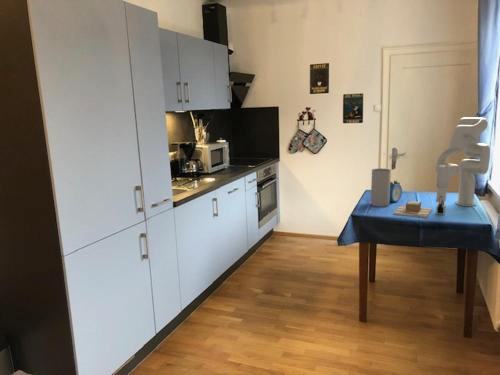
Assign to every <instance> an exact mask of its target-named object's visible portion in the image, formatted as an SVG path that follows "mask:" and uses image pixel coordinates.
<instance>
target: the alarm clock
mask: <svg viewBox="0 0 500 375" xmlns="http://www.w3.org/2000/svg"><path fill="white" fill-rule="evenodd" d="M400 183H401V182H399V180H394V181H390V199H389V202H392V203H398V202H399V201H400V200H401V198H402V194H403V189H402V186H401V184H400Z"/></svg>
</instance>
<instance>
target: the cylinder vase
mask: <svg viewBox="0 0 500 375" xmlns="http://www.w3.org/2000/svg"><path fill="white" fill-rule="evenodd" d="M391 172H392V170H391V169H389V168H373V169H371V185H370V186H371V187H370V188H371V189H370V205H371V206H372V207H377V208H378V207H380V208H384V207H385V208H386V207H388V206H389V205H390V201H389V199H390V182H391V177H392V176H391V175H392V174H391Z"/></svg>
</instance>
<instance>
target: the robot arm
mask: <svg viewBox="0 0 500 375" xmlns="http://www.w3.org/2000/svg"><path fill="white" fill-rule="evenodd" d="M488 125H489V121H488V119H487V118H485V117H462V118H460V119H459V120H458V125H457V126H455V127H454V130H453V133H452V136H451V139H450V143H449V145H448V147H447V148H445V149H444V151H442V153H440V155H439V156H438V158H437V161H436V165H435V172H436V182H435V186H436V188H437V189H436V199H435V202H436V203H438V204H437V205H438V211H437V213H443V205H445V202H446V200H447V194H448V193H447V191H448V188H450V180H451V176H453V177H454V176H455V177H456V176H457V175H459V184H458V185H459V186H458V196H457V197H458V198H457V200H456V201H455V204H456V205H457V206H463V207H475V206H476V205H477V203H476V202H474V201H475V189H476V177H475V176H474V175H480V176H481V175H486V174H487V173H488V171H489V165H490V157H491V147H490V146H489V145H488V144H486V143H480V142H479V141H480V136H481V135H482V134H483V133H484V132H485V131H486V129H487V128H488ZM462 151H463V155H464V156H465V157H467V158H464V159H461V161H459V164H455V163H450V162H449V163H447V162H446V160H447V159H448V158H449V157H450V156H453V155H455V154H458V153H461V152H462ZM473 158H476V159H473ZM477 158H478V159H477Z"/></svg>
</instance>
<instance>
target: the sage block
mask: <svg viewBox="0 0 500 375" xmlns="http://www.w3.org/2000/svg"><path fill="white" fill-rule="evenodd" d="M446 208H447V206H446V204H444V205H443V213H437V211H438V204H436V206H435V214H436V215H444V216H445V214H446V210H447V209H446Z"/></svg>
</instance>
